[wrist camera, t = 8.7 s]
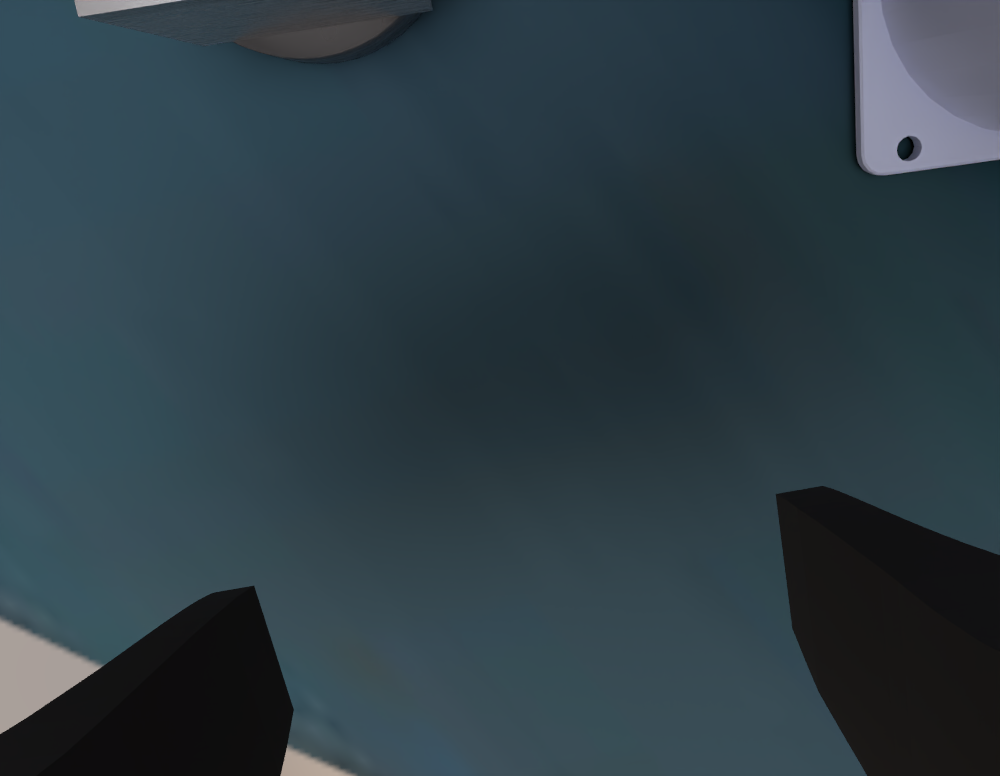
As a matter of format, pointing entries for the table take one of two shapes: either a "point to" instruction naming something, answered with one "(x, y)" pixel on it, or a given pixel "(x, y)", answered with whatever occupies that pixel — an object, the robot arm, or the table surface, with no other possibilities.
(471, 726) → the table surface
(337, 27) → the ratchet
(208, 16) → the brushed metal cube
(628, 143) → the table surface
